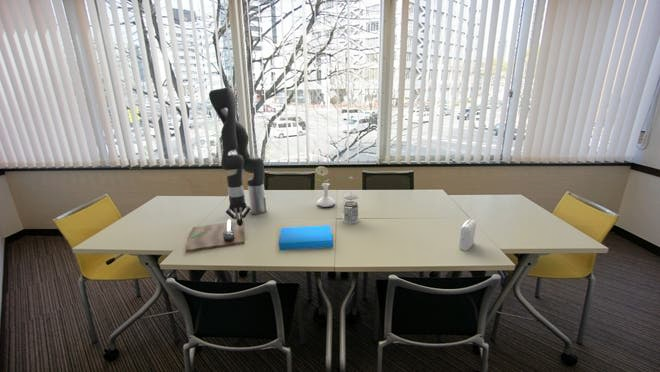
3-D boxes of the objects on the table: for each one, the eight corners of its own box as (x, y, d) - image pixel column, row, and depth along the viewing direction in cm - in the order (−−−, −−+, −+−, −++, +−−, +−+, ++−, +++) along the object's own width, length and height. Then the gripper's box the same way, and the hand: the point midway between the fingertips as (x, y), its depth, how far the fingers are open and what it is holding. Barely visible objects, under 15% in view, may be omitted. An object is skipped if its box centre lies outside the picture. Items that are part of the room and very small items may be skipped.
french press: (363, 219, 172) (364, 176, 164) (350, 226, 164) (350, 181, 156) (349, 214, 179) (349, 173, 171) (336, 221, 171) (335, 177, 163)
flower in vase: (338, 203, 195) (338, 165, 188) (328, 209, 186) (327, 169, 179) (321, 200, 202) (320, 163, 194) (311, 205, 193) (309, 167, 185)
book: (280, 227, 156) (329, 224, 158) (281, 235, 157) (330, 231, 159) (278, 244, 140) (333, 240, 142) (279, 252, 141) (333, 248, 143)
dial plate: (243, 223, 170) (243, 220, 170) (244, 244, 147) (244, 240, 147) (193, 229, 164) (192, 226, 163) (186, 252, 141) (185, 249, 140)
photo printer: (467, 251, 137) (470, 226, 133) (457, 248, 139) (460, 223, 136) (474, 243, 144) (477, 218, 140) (465, 240, 147) (468, 216, 143)
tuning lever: (234, 240, 147) (233, 234, 146) (223, 242, 146) (222, 236, 145) (234, 223, 166) (234, 218, 165) (225, 224, 164) (224, 219, 163)
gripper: (249, 190, 160) (252, 220, 166) (222, 193, 157) (227, 224, 162) (250, 194, 154) (253, 226, 159) (222, 197, 150) (226, 230, 155)
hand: (240, 225), depth 161 cm, fingers closed
